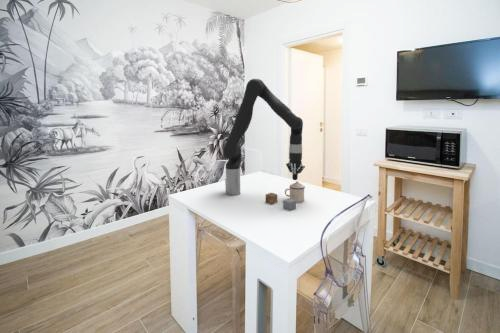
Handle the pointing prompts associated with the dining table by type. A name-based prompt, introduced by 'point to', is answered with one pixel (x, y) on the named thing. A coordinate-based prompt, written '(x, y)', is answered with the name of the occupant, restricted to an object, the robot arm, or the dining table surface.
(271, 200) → the walnut block
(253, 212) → the dining table surface
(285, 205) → the slate-grey block
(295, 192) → the teacup with lid
